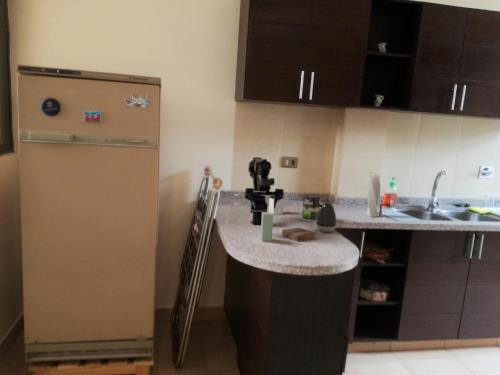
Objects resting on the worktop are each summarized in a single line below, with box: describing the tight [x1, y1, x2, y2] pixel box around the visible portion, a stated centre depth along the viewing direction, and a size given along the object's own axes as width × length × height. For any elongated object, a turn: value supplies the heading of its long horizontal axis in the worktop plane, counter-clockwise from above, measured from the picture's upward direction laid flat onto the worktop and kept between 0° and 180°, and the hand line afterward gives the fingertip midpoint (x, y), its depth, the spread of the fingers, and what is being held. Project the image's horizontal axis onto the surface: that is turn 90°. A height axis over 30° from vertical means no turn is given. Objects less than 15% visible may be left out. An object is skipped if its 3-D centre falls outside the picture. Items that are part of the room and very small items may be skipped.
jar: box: [268, 196, 285, 215], centre depth 241 cm, size 9×8×12 cm
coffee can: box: [301, 194, 322, 222], centre depth 226 cm, size 10×10×14 cm
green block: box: [260, 211, 274, 242], centre depth 177 cm, size 4×4×12 cm
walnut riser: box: [281, 227, 316, 242], centre depth 185 cm, size 11×11×4 cm
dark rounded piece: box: [315, 201, 337, 233], centre depth 198 cm, size 10×10×15 cm
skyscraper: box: [365, 172, 383, 219], centre depth 242 cm, size 8×8×28 cm
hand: (265, 208), depth 184 cm, fingers open, 9 cm apart
